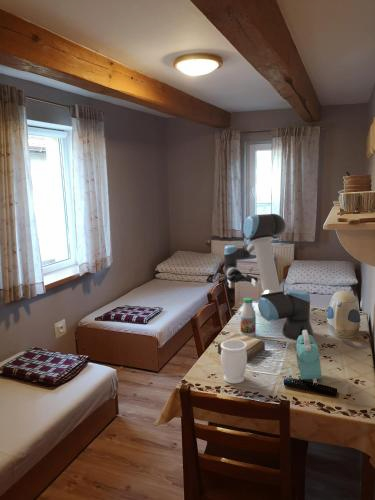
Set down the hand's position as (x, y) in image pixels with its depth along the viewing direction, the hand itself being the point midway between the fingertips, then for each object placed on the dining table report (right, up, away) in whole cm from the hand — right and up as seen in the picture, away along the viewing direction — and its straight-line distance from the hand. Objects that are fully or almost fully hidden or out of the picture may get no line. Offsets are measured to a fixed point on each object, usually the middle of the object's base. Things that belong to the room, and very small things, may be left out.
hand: (243, 284), depth 209 cm
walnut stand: (-4, -29, -23) cm, 38 cm away
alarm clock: (+19, -34, -50) cm, 63 cm away
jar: (-11, -34, -48) cm, 60 cm away
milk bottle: (+2, -26, -5) cm, 27 cm away
